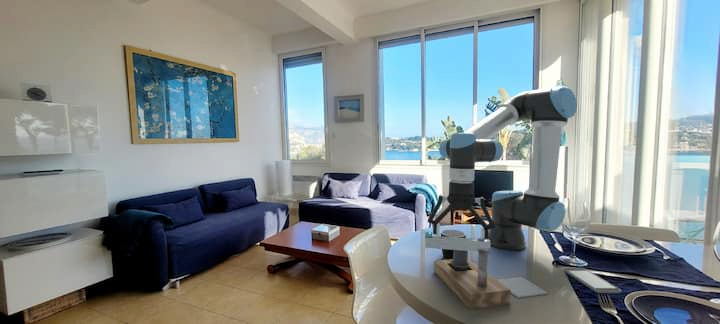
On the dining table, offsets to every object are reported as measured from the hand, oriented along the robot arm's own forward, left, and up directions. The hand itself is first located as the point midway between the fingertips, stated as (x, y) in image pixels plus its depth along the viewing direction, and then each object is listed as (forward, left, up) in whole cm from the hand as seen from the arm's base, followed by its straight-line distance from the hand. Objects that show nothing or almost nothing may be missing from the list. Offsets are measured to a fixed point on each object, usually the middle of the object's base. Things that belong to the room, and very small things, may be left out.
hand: (459, 246), depth 93 cm
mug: (-6, -16, -11) cm, 20 cm away
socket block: (0, +5, -11) cm, 12 cm away
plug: (0, 0, -11) cm, 11 cm away
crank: (+6, +9, +3) cm, 11 cm away
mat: (-15, +9, -11) cm, 21 cm away
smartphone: (-40, +10, -11) cm, 43 cm away
